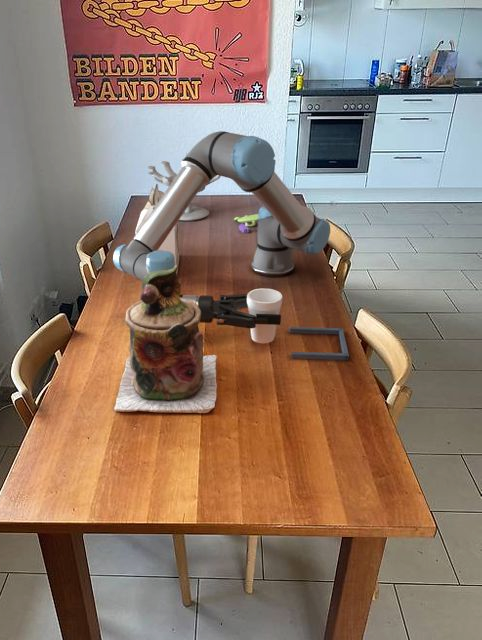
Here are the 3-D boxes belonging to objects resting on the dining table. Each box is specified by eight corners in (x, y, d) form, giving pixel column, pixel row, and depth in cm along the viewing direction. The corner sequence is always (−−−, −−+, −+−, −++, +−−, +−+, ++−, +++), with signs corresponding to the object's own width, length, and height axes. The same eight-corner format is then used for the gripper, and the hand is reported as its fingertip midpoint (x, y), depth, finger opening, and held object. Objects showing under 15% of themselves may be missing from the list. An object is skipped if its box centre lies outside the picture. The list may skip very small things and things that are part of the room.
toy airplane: (293, 236, 237) (294, 223, 234) (228, 233, 242) (229, 220, 239) (296, 222, 252) (297, 209, 249) (235, 219, 257) (236, 206, 254)
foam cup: (243, 330, 167) (245, 289, 160) (275, 328, 167) (278, 287, 160) (248, 347, 159) (250, 304, 152) (282, 345, 159) (285, 302, 152)
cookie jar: (127, 360, 158) (115, 248, 140) (217, 361, 157) (217, 247, 139) (112, 415, 137) (96, 291, 119) (216, 416, 136) (216, 290, 119)
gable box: (145, 255, 222) (139, 181, 207) (179, 255, 222) (176, 180, 207) (139, 279, 204) (132, 199, 188) (176, 278, 203) (173, 198, 188)
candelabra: (157, 203, 279) (154, 144, 264) (230, 205, 275) (230, 144, 260) (142, 226, 251) (137, 161, 236) (222, 229, 246) (222, 162, 232)
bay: (291, 358, 157) (291, 353, 156) (289, 331, 170) (289, 326, 169) (348, 360, 156) (349, 355, 155) (342, 332, 169) (342, 328, 168)
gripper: (202, 303, 171) (278, 305, 169) (194, 340, 153) (280, 343, 151) (202, 280, 167) (280, 281, 165) (194, 314, 149) (281, 317, 147)
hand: (280, 311), depth 158 cm, fingers closed on foam cup, 9 cm apart
